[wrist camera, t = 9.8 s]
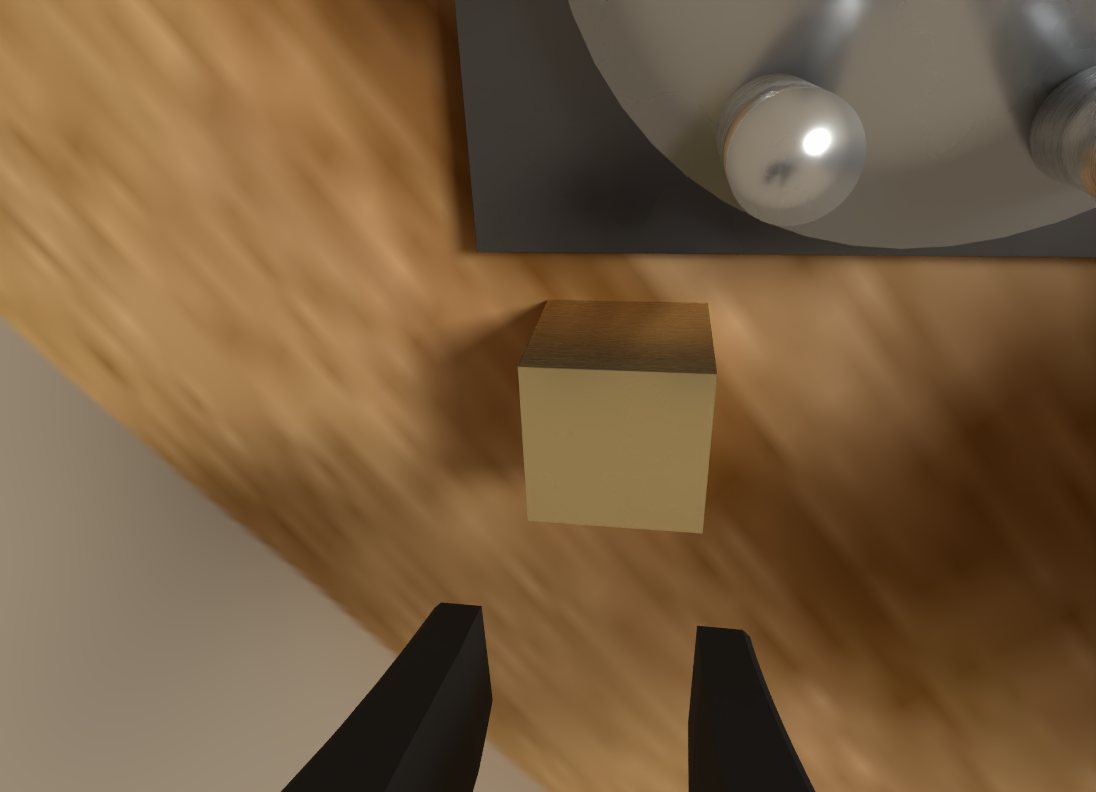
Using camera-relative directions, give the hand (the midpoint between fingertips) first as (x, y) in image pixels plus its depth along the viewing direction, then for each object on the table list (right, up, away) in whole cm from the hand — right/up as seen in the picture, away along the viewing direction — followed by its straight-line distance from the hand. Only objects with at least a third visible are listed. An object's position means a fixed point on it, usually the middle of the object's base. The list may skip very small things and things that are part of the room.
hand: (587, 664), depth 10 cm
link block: (+1, +5, +8) cm, 10 cm away
